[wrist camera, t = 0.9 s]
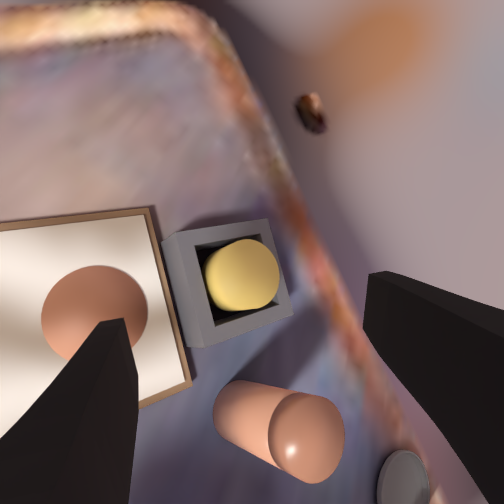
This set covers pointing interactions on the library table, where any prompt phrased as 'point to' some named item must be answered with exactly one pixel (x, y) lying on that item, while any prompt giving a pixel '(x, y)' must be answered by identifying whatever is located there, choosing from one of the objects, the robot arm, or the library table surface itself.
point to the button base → (193, 290)
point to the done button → (241, 276)
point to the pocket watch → (403, 480)
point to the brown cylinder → (282, 427)
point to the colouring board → (83, 303)
